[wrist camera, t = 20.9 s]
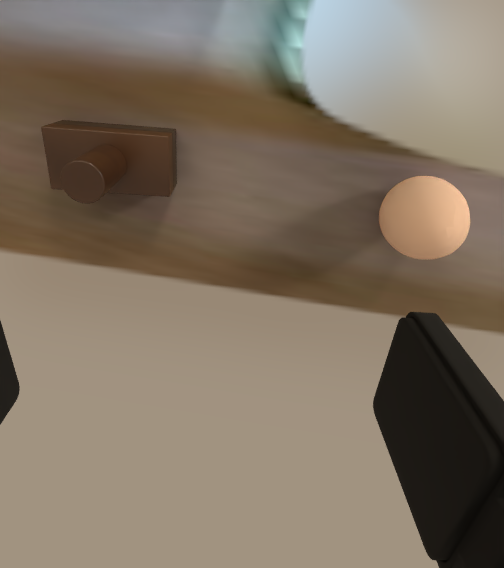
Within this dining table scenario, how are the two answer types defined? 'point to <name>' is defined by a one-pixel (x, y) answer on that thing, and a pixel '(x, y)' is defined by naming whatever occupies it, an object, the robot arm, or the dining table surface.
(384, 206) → the egg
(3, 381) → the robot arm
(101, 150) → the wooden stamp
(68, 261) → the dining table surface
